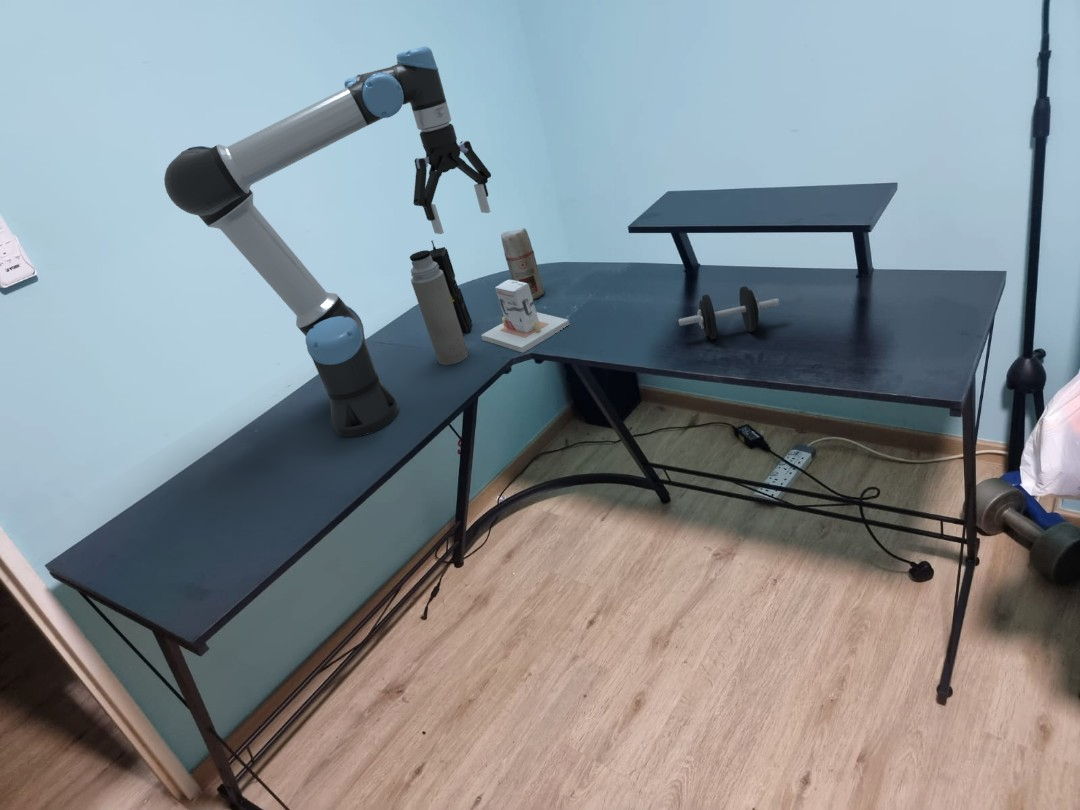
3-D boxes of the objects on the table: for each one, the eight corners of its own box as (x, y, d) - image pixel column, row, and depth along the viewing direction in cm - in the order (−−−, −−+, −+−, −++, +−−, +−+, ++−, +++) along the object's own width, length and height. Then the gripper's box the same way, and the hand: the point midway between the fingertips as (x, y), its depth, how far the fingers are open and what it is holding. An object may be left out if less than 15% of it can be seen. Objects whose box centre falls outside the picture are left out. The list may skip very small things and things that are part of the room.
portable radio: (470, 334, 191) (443, 246, 178) (448, 339, 191) (420, 251, 179) (473, 322, 197) (447, 236, 185) (452, 327, 198) (425, 241, 186)
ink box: (505, 328, 184) (493, 286, 178) (519, 320, 187) (508, 278, 181) (526, 334, 178) (515, 290, 172) (541, 325, 180) (530, 282, 175)
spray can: (512, 304, 203) (494, 237, 193) (521, 292, 209) (504, 226, 200) (540, 301, 200) (523, 232, 190) (548, 289, 206) (532, 222, 197)
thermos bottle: (451, 348, 185) (418, 247, 172) (474, 351, 181) (442, 246, 167) (432, 363, 180) (396, 259, 166) (455, 366, 175) (420, 259, 162)
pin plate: (523, 352, 173) (519, 338, 171) (482, 340, 186) (478, 326, 184) (569, 325, 181) (566, 310, 179) (528, 314, 193) (524, 301, 191)
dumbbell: (773, 314, 160) (770, 273, 156) (786, 332, 152) (783, 289, 147) (678, 334, 163) (672, 294, 158) (686, 353, 154) (680, 311, 149)
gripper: (395, 144, 144) (427, 243, 154) (490, 110, 156) (513, 204, 166) (378, 144, 149) (410, 240, 160) (470, 111, 161) (494, 203, 172)
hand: (463, 222), depth 163 cm, fingers open, 13 cm apart
